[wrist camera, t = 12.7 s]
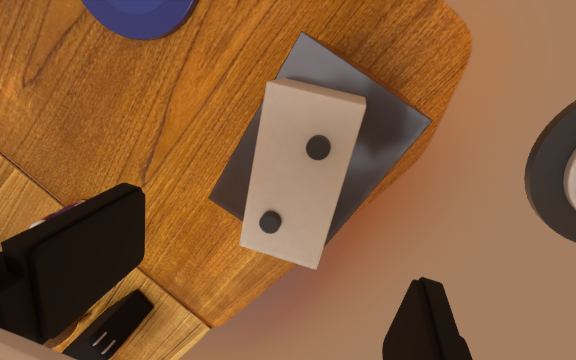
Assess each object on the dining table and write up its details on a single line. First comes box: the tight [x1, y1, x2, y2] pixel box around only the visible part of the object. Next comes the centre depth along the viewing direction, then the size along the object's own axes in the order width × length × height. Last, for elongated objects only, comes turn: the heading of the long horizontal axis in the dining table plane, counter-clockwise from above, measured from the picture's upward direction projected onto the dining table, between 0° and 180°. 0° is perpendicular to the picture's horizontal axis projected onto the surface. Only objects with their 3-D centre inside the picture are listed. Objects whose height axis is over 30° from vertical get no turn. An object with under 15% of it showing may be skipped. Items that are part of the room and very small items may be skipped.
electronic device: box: [62, 290, 153, 360], centre depth 48 cm, size 4×10×10 cm, turn 129°
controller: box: [239, 78, 366, 269], centre depth 18 cm, size 10×5×4 cm, turn 168°
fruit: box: [43, 318, 79, 349], centre depth 52 cm, size 6×6×8 cm
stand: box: [208, 31, 432, 248], centre depth 27 cm, size 13×9×15 cm
